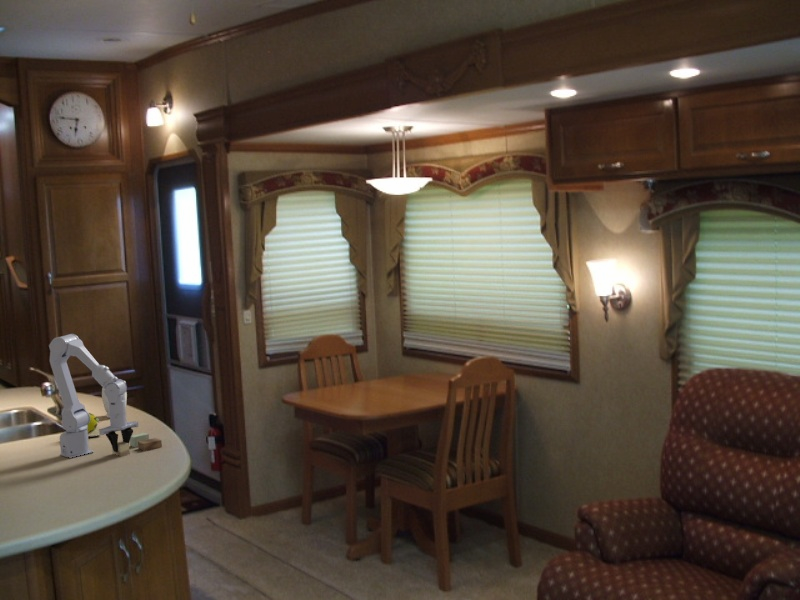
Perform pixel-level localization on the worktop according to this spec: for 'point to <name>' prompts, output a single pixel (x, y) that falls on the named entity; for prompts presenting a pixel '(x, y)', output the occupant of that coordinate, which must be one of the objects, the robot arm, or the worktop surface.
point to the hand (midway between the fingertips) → (120, 450)
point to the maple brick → (122, 449)
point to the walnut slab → (149, 444)
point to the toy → (92, 424)
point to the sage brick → (138, 439)
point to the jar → (106, 402)
